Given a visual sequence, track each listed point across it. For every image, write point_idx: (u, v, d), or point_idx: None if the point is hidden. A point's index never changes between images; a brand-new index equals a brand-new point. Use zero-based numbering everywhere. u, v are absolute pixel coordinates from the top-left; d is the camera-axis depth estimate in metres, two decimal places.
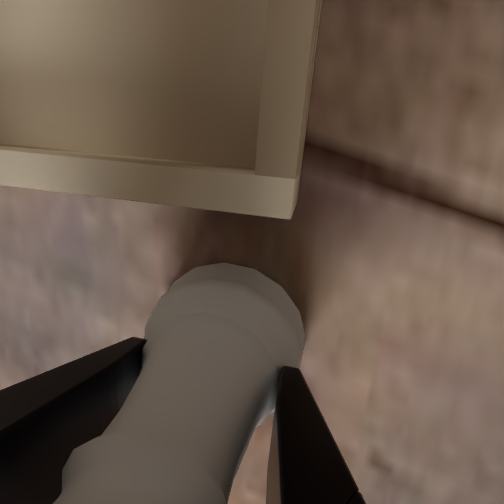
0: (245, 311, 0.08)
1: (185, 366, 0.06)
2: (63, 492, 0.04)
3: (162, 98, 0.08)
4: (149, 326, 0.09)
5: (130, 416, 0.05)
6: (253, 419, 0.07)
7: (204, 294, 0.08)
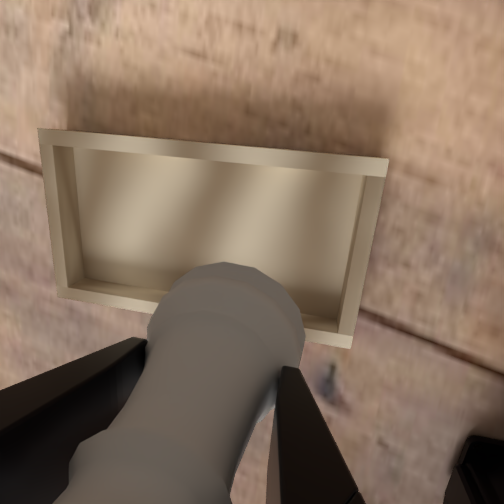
0: (246, 308, 0.08)
1: (187, 362, 0.06)
2: (70, 484, 0.05)
3: (293, 290, 0.19)
4: (151, 326, 0.09)
5: (134, 411, 0.06)
6: (254, 414, 0.07)
7: (205, 293, 0.08)
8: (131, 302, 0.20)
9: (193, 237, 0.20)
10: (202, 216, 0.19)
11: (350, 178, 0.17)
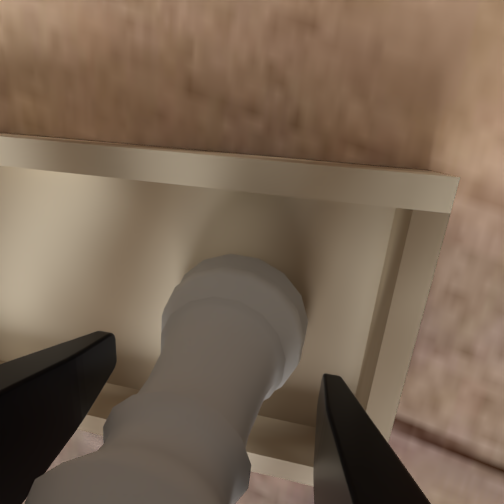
0: (252, 294, 0.09)
1: (202, 340, 0.07)
2: (108, 439, 0.05)
3: None
4: (165, 314, 0.09)
5: (158, 380, 0.06)
6: (263, 386, 0.08)
7: (214, 281, 0.09)
8: None
9: (111, 299, 0.12)
10: (123, 267, 0.12)
11: (373, 208, 0.09)
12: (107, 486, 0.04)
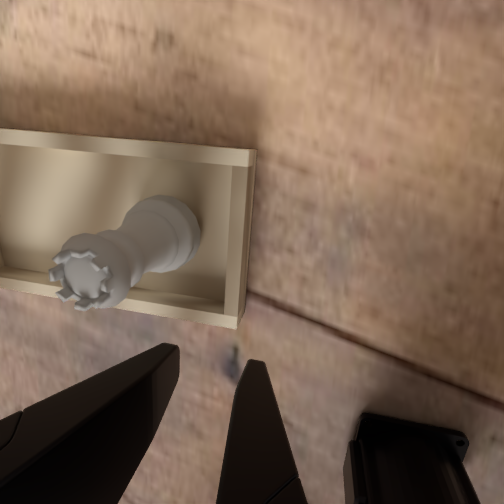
0: (163, 209, 0.18)
1: (132, 223, 0.16)
2: None
3: (190, 275, 0.21)
4: None
5: None
6: (162, 246, 0.16)
7: (145, 204, 0.18)
8: (40, 287, 0.21)
9: (97, 226, 0.21)
10: (103, 206, 0.20)
11: (228, 169, 0.18)
12: (85, 237, 0.13)
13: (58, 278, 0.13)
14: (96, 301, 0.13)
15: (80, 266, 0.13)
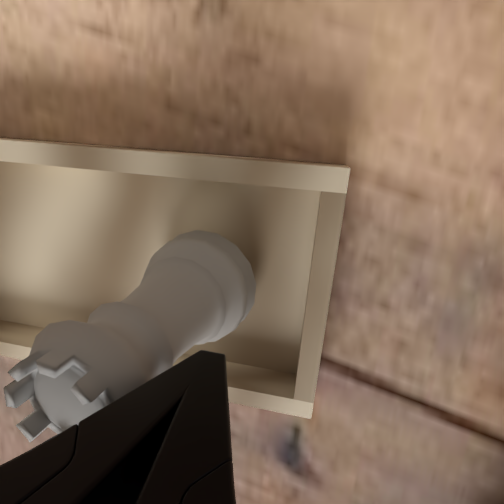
0: (204, 257, 0.12)
1: (158, 282, 0.10)
2: None
3: (240, 336, 0.15)
4: None
5: (121, 301, 0.09)
6: (201, 318, 0.10)
7: (178, 247, 0.12)
8: None
9: (110, 269, 0.15)
10: (120, 243, 0.15)
11: (304, 193, 0.13)
12: (69, 331, 0.07)
13: (22, 401, 0.07)
14: None
15: (58, 384, 0.07)
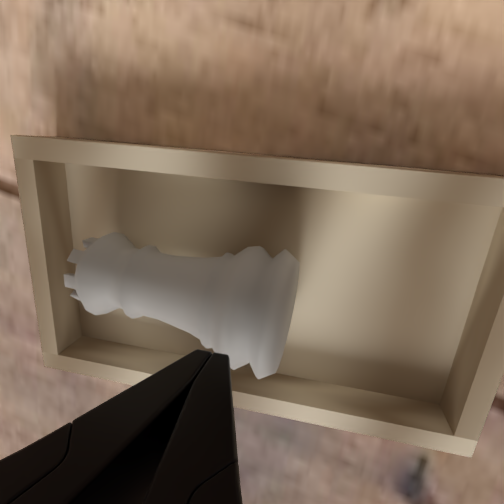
0: (231, 263, 0.11)
1: (189, 257, 0.12)
2: None
3: (378, 363, 0.14)
4: None
5: (167, 254, 0.13)
6: (174, 301, 0.11)
7: (244, 249, 0.12)
8: None
9: None
10: None
11: (482, 209, 0.11)
12: (106, 235, 0.13)
13: None
14: (76, 292, 0.13)
15: None
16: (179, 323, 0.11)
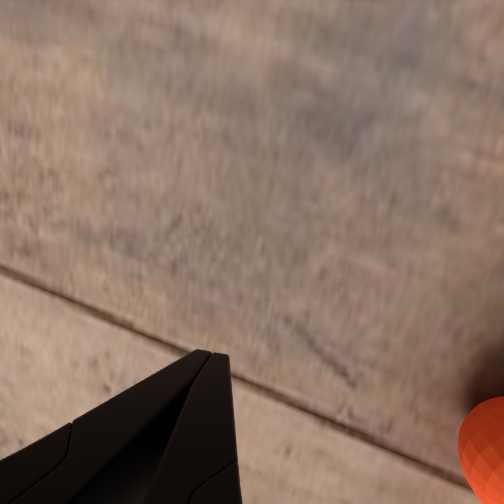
0: None
1: None
2: None
3: None
4: None
5: None
6: None
7: None
8: None
9: None
10: None
11: None
12: None
13: None
14: None
15: None
16: None
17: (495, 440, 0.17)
